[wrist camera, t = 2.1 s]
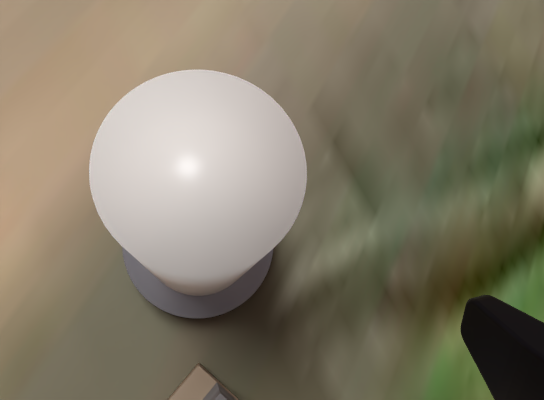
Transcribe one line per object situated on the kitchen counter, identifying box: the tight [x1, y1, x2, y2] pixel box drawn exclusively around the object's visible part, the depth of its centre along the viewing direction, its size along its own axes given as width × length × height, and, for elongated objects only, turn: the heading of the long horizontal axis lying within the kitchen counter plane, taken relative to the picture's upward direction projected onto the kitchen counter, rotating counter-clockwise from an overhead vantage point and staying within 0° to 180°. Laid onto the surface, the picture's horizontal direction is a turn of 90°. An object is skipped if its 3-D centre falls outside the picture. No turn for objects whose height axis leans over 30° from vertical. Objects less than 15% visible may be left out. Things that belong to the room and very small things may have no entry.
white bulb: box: [89, 70, 307, 318], centre depth 14 cm, size 6×6×11 cm
